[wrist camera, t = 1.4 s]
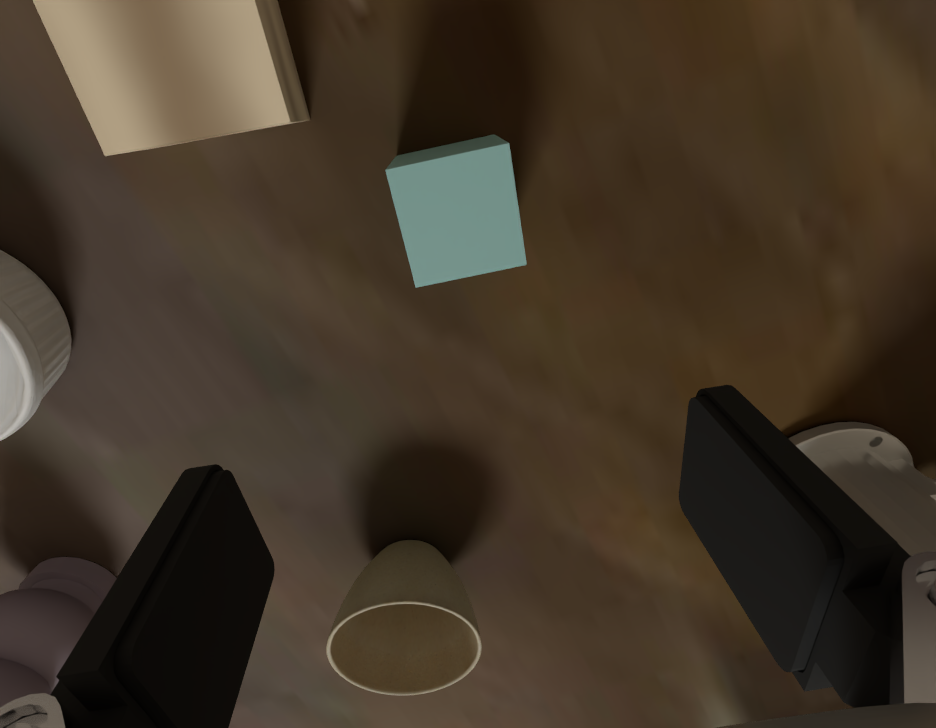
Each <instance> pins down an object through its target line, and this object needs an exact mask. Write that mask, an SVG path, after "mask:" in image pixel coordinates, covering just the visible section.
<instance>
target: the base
mask: <svg viewBox="0 0 936 728" xmlns="http://www.w3.org/2000/svg"><path fill="white" fill-rule="evenodd" d="M33 2H34V4H35V6H36V8H37V11H38V13H39V15H40V17H41V19H42V21H43V24H44V26H45V28H46V30H47V32H48V34H49V36H50V39H51V41H52V43H53V45H54V47H55V49H56V51H57V54H58V56H59V58H60V60H61V62H62V64H63V67H64V69H65V71H66V73H67V75H68V77H69V79H70V82H71V84H72V86H73V88H74V90H75V92H76V94H77V97H78V99H79V101H80V103H81V105H82V107H83V110H84V112H85V114H86V116H87V118H88V120H89V122H90V125H91V127H92V129H93V131H94V133H95V135H96V137H97V140H98V142H99V144H100V146H101V148H102V150H103V153H104V155H105V156H108V155H115V154H121V153H128V152H134V151H140V150H147V149H153V148H158V147H164V146H169V145H175V144H181V143H186V142H192V141H197V140H203V139H208V138H214V137H219V136H225V135H231V134H236V133H242V132H247V131H253V130H258V129H264V128H269V127H275V126H281V125H286V124H292V123H297V122H303V121H308V120H310V116H309V113H308V109H307V105H306V102H305V98H304V95H303V91H302V87H301V84H300V80H299V76H298V73H297V69H296V66H295V62H294V58H293V55H292V51H291V48H290V44H289V40H288V37H287V33H286V29H285V26H284V22H283V19H282V15H281V11H280V8H279V4H278V1H277V0H33Z"/></svg>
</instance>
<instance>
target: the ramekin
mask: <svg viewBox="0 0 936 728" xmlns="http://www.w3.org/2000/svg"><path fill="white" fill-rule="evenodd" d="M71 341H72V339H71V334H70V328H69V325H68V321H67V318H66V316H65V313H64V311H63V309H62V307H61V305H60V303H59V301H58V300H57V298H56V297H55V295H54V294H53V292H52V291H51V290H50V289H49V287H48V286H47V285H46V284H45V283H44V282H43V281H42V280H41V279H40V278H39V277H38V276H37V275H36V274H35V273H34V272H33V271H32V270H30V269H29V268H28V267H27V266H25V265H24V264H23V263H21V262H20V261H18V260H17V259H15V258H14V257H12V256H10V255H9V254H7V253H5V252H4V251H1V250H0V441H1V440H3V439H5V438H7V437H8V436H10V435H11V434H13V433H14V432H16V431H17V430H18V429H20V428H21V427H22V426H23V425H24V424H25V423H26V422H27V421H28V420H29V419H30V418H31V417H32V416H33V414H34V413H35V411H36V410H37V408H38V406H39V404H40V401H41V399H42V398H43V397H44V396H45V395H46V393H47V392H48V391H49V390H50V388H51V387H52V386H53V385H54V383H55V382H56V381H57V380H58V378H59V377H60V376H61V374H62V373H63V372H64V370H65V369H66V367H67V363H68V361H69V359H70V353H71Z"/></svg>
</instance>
